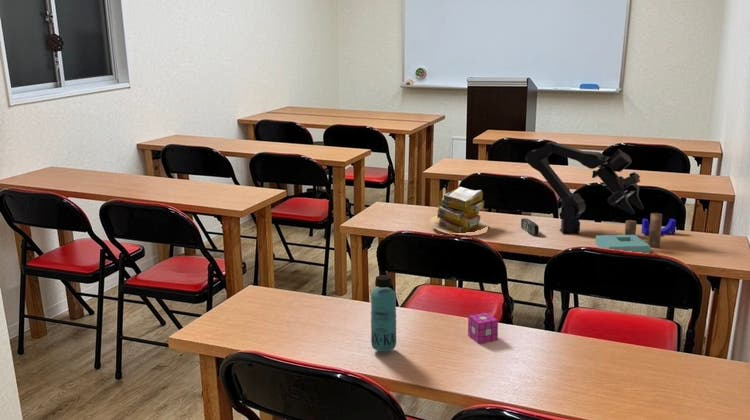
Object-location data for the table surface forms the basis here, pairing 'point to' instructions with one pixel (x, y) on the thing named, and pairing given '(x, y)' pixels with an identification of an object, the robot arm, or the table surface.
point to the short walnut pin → (630, 227)
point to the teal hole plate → (622, 243)
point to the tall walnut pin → (655, 230)
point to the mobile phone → (530, 227)
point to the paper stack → (459, 212)
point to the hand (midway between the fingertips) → (638, 211)
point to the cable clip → (665, 231)
